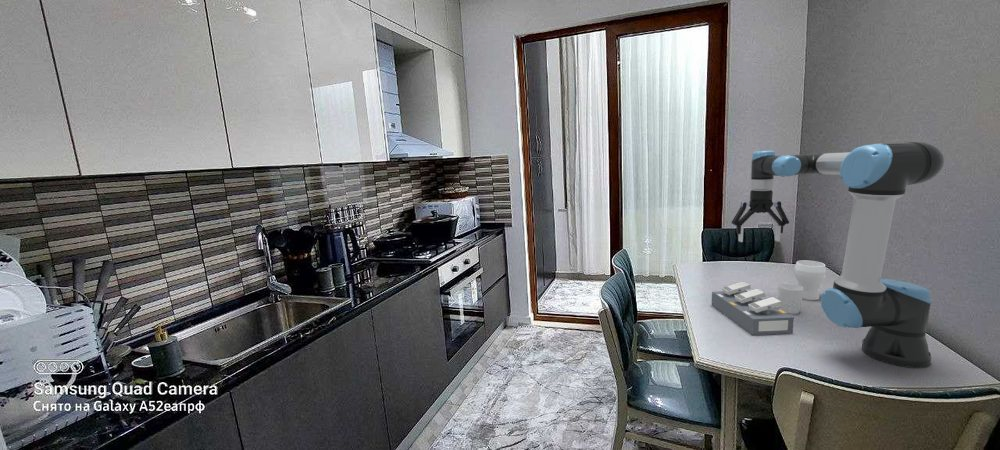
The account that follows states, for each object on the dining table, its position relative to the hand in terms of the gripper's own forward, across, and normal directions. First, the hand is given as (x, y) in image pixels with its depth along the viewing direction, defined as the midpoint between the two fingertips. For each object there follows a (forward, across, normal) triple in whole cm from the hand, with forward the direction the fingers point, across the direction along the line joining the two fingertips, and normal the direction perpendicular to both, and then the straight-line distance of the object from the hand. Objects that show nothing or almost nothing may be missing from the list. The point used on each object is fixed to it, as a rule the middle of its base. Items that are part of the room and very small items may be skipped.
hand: (758, 241), depth 163 cm
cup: (+27, -23, -8) cm, 36 cm away
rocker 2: (+18, +9, +17) cm, 26 cm away
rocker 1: (+18, +10, +8) cm, 22 cm away
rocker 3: (+18, +7, +25) cm, 32 cm away
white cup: (+27, -9, +8) cm, 29 cm away
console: (+27, +9, +16) cm, 32 cm away
